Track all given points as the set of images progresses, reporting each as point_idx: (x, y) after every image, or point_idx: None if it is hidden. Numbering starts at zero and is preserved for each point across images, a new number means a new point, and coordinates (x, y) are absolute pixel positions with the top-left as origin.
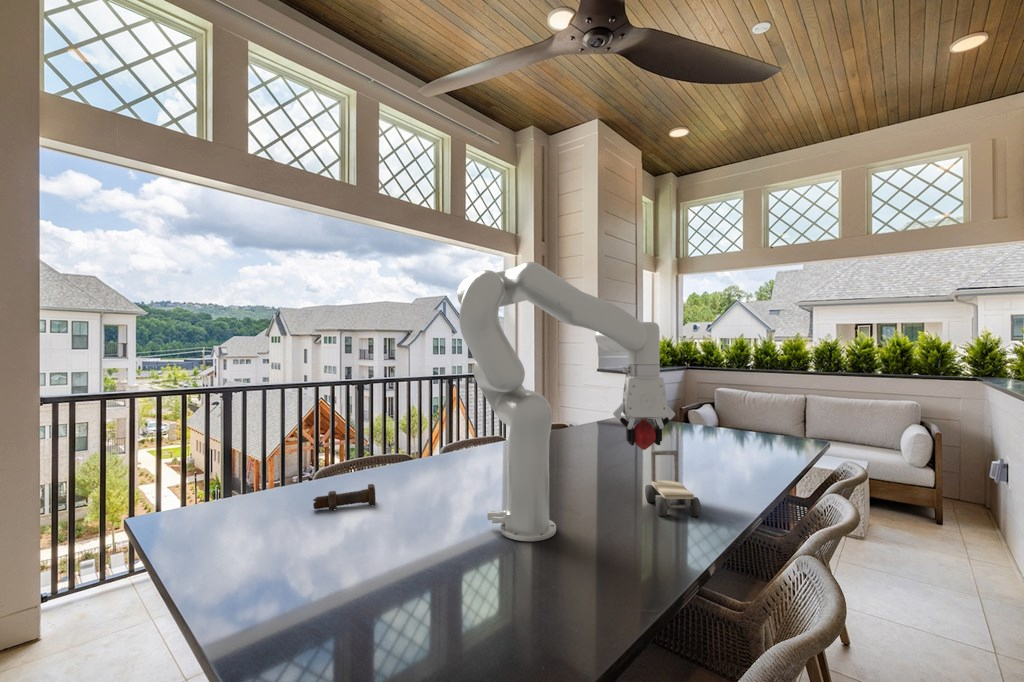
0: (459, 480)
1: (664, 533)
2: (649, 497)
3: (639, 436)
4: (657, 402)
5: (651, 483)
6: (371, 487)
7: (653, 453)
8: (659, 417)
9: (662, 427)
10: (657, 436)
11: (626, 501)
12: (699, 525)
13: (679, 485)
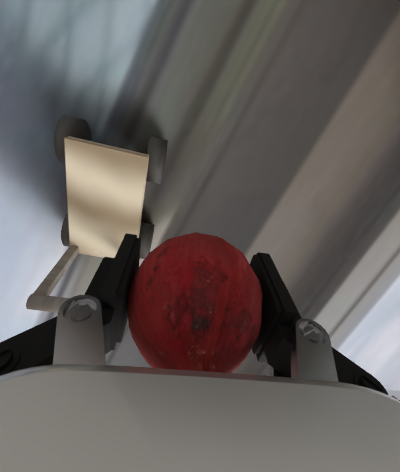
0: (393, 356)
1: (205, 39)
2: (153, 225)
3: (249, 266)
4: None
5: None
6: None
7: None
8: (77, 367)
9: (74, 306)
10: (131, 263)
11: None
12: (94, 71)
13: (77, 218)
